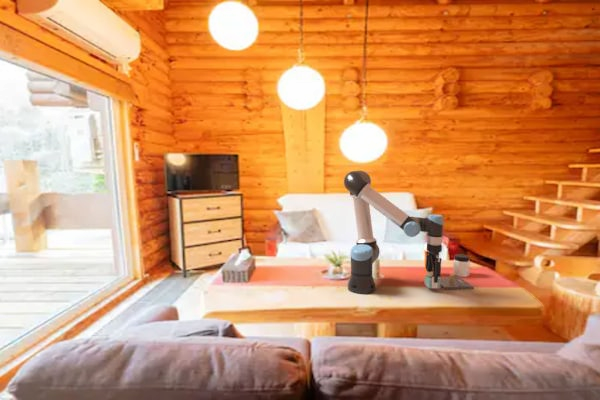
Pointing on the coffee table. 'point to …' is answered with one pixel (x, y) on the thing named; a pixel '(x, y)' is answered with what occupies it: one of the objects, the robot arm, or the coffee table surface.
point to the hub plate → (454, 283)
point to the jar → (461, 265)
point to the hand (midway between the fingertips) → (431, 285)
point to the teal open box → (429, 281)
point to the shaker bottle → (425, 258)
